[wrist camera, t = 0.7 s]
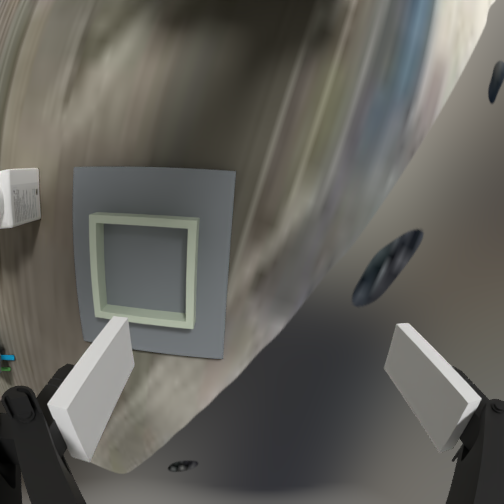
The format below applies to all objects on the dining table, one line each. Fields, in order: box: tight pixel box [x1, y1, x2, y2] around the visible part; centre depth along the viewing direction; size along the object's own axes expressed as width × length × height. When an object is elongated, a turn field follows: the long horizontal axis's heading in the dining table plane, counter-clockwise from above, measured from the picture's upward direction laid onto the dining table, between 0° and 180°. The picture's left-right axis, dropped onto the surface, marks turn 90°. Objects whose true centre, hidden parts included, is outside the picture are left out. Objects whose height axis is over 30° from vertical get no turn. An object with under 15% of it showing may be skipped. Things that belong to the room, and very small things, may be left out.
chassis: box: [73, 167, 236, 359], centre depth 39 cm, size 26×22×4 cm
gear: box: [0, 354, 14, 373], centre depth 42 cm, size 11×6×10 cm
